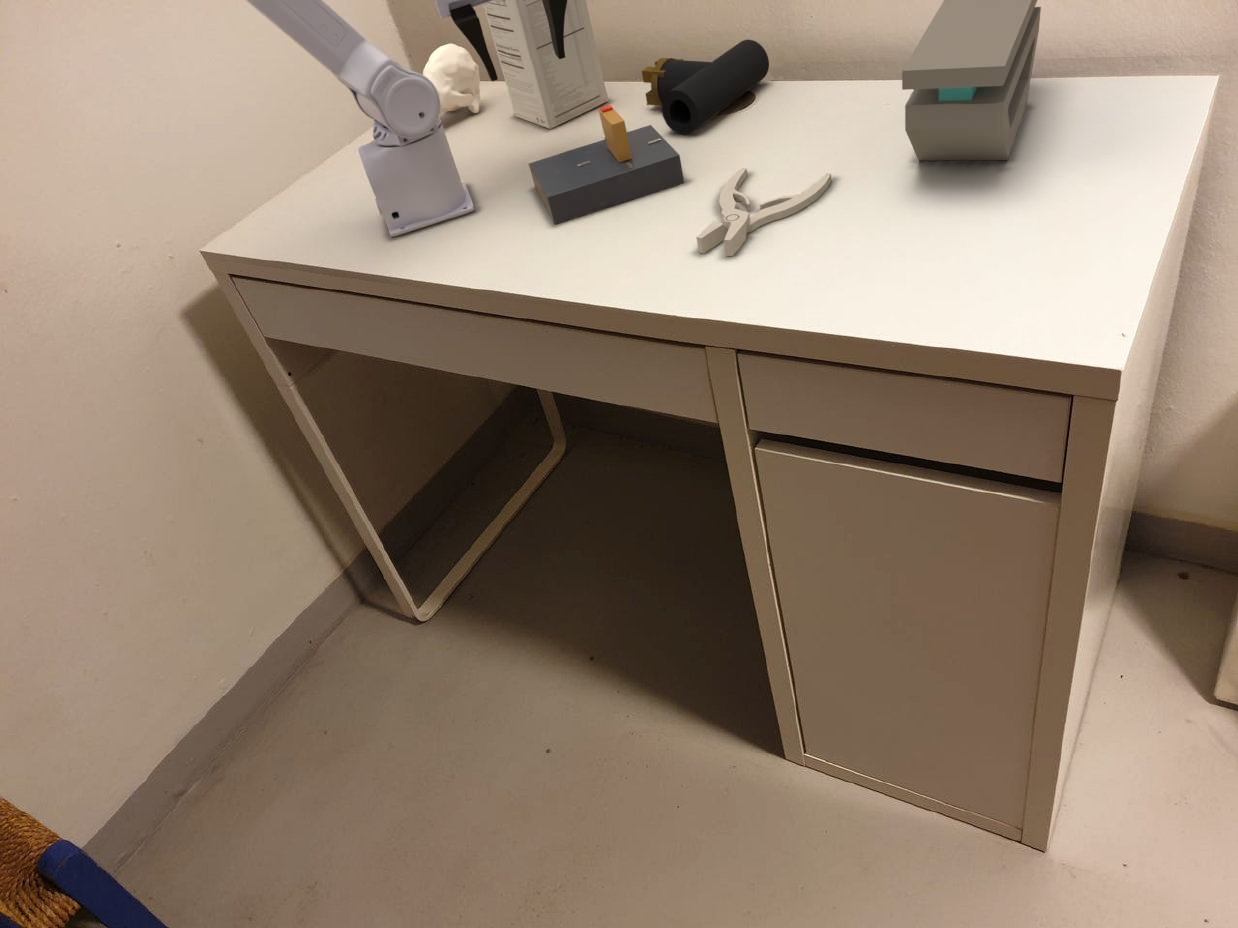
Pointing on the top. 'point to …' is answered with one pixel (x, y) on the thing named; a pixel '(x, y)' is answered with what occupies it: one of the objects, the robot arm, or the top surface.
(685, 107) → the pipe connector
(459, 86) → the white lumpy rounded piece
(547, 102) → the supplement box
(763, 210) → the pliers
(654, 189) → the dark slotted flat block
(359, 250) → the top surface
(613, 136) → the tan upright tile
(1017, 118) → the grey slotted box
